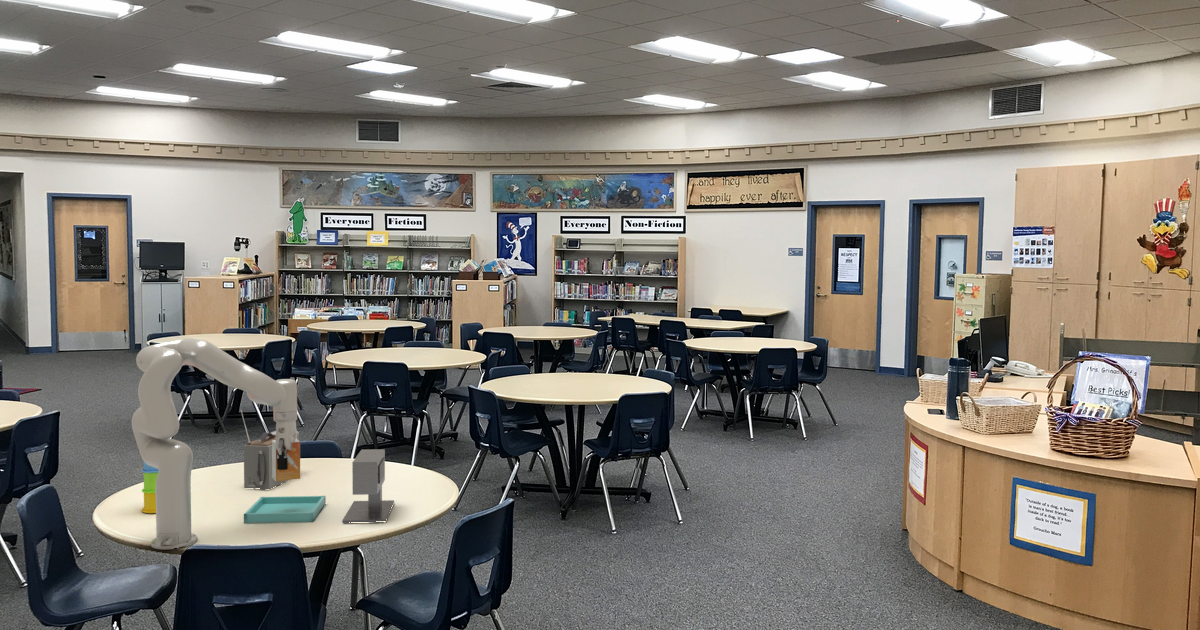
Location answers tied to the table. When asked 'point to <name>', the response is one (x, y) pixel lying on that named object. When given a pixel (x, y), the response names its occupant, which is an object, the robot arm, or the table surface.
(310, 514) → the teal tray
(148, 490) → the stacking cups
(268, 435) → the grey portable radio
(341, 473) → the table surface
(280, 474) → the small box
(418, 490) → the table surface
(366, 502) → the mounted unit
